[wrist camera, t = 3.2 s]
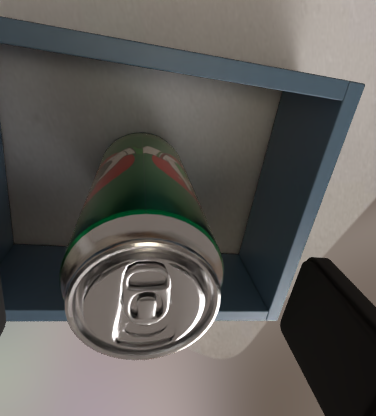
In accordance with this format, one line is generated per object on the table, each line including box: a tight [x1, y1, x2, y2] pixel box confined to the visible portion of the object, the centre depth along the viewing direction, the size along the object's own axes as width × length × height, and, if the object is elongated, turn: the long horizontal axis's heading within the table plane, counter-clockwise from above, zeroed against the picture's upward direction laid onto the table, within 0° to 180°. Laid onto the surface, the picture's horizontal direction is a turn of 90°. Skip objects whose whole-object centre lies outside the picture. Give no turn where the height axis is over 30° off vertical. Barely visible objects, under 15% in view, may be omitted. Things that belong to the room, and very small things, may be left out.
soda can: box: [59, 133, 224, 360], centre depth 13 cm, size 5×5×12 cm
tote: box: [0, 16, 365, 321], centre depth 16 cm, size 18×14×6 cm
